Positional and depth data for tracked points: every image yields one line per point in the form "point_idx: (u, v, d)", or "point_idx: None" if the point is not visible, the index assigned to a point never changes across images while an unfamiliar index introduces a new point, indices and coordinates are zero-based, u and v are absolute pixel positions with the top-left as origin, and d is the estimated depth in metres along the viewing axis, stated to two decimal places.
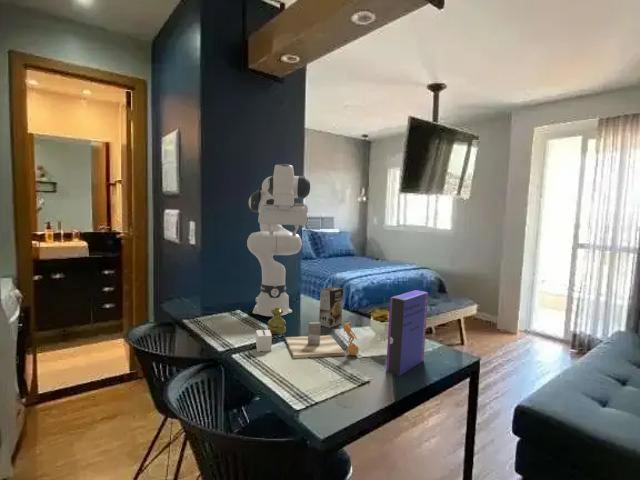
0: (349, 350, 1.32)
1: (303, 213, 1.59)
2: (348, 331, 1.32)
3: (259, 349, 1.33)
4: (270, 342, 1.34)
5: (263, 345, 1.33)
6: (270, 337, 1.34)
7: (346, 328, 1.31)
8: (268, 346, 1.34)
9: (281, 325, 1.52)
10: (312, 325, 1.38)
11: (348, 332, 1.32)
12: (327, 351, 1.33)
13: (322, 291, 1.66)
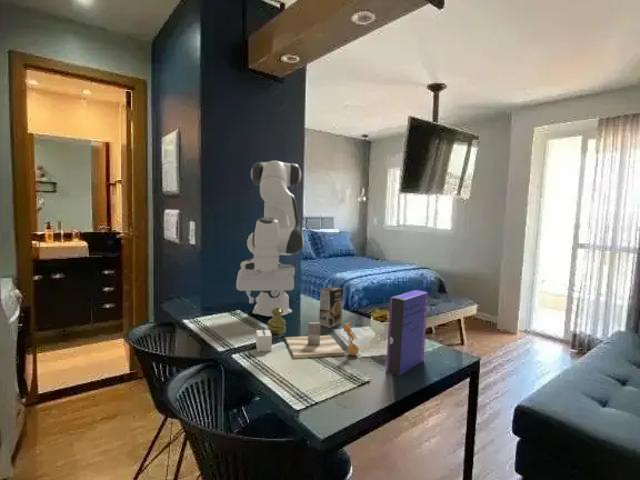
0: (349, 350, 1.32)
1: (289, 277, 1.35)
2: (348, 331, 1.32)
3: (259, 349, 1.33)
4: (270, 342, 1.34)
5: (263, 345, 1.33)
6: (270, 337, 1.34)
7: (346, 328, 1.31)
8: (268, 346, 1.34)
9: (281, 325, 1.52)
10: (312, 325, 1.38)
11: (348, 332, 1.32)
12: (327, 351, 1.33)
13: (322, 291, 1.66)
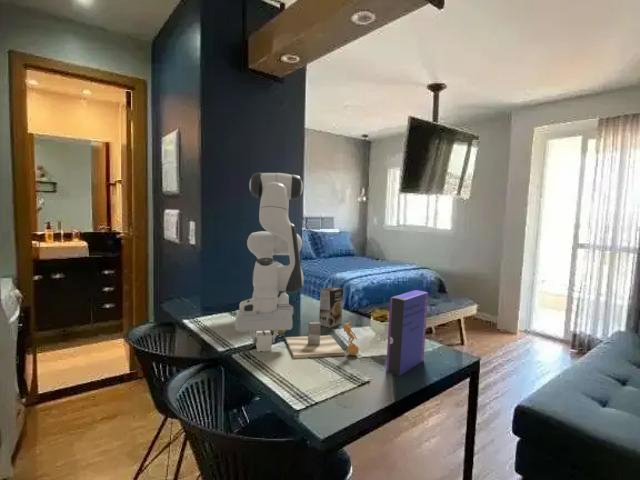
0: (349, 350, 1.32)
1: (287, 317, 1.36)
2: (348, 331, 1.32)
3: (259, 349, 1.33)
4: (270, 342, 1.34)
5: (263, 345, 1.33)
6: (270, 337, 1.34)
7: (346, 328, 1.31)
8: (268, 346, 1.34)
9: None
10: (312, 325, 1.38)
11: (348, 332, 1.32)
12: (327, 351, 1.33)
13: (322, 291, 1.66)
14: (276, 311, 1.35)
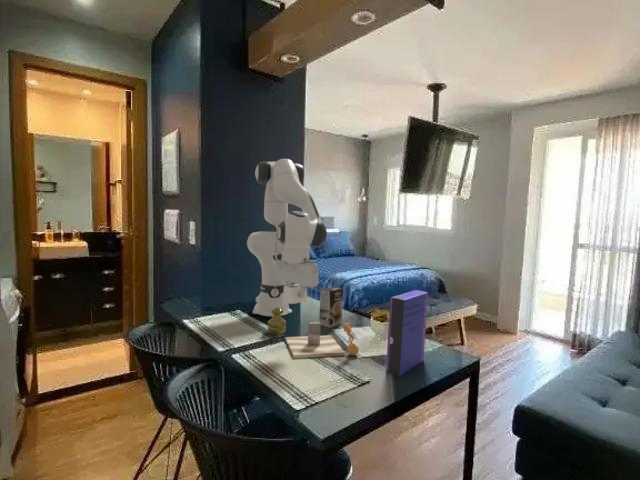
0: (349, 350, 1.32)
1: (307, 273, 1.29)
2: (348, 331, 1.32)
3: (284, 299, 1.36)
4: (291, 294, 1.33)
5: (287, 295, 1.35)
6: (291, 289, 1.33)
7: (346, 328, 1.31)
8: (290, 298, 1.34)
9: (281, 325, 1.52)
10: (312, 325, 1.38)
11: (348, 332, 1.32)
12: (327, 351, 1.33)
13: (322, 291, 1.66)
14: (300, 265, 1.32)
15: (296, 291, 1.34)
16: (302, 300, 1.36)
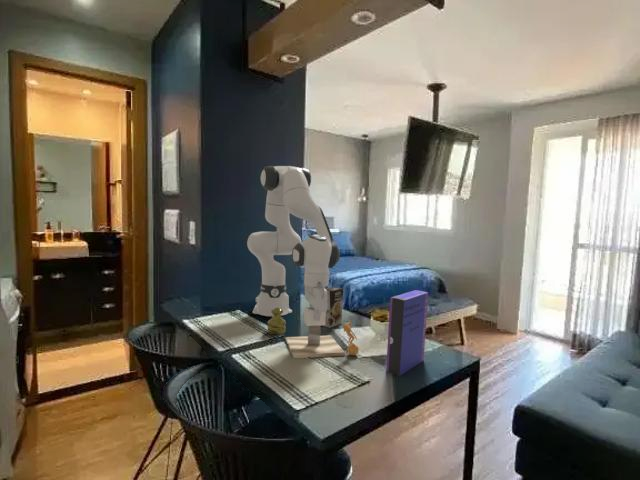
0: (349, 350, 1.32)
1: (316, 297, 1.30)
2: (348, 331, 1.32)
3: (304, 320, 1.40)
4: (306, 316, 1.36)
5: (305, 317, 1.38)
6: (307, 311, 1.36)
7: (346, 328, 1.31)
8: (306, 320, 1.36)
9: (281, 325, 1.52)
10: None
11: (348, 332, 1.32)
12: (327, 351, 1.33)
13: None
14: (314, 288, 1.34)
15: (312, 314, 1.36)
16: (320, 323, 1.37)
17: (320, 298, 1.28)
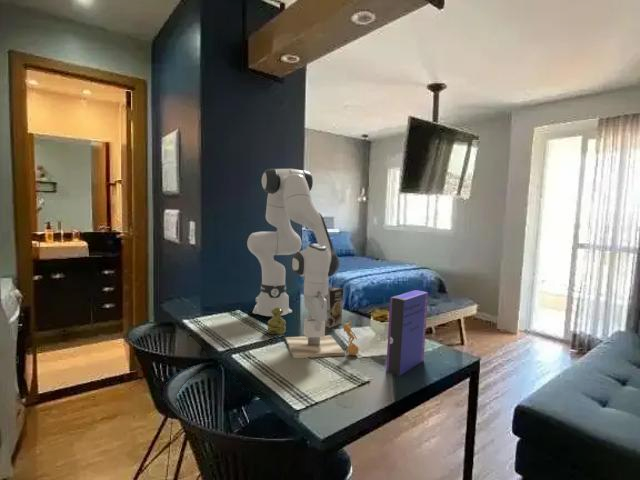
0: (349, 350, 1.32)
1: (315, 307, 1.30)
2: (348, 331, 1.32)
3: None
4: (306, 328, 1.36)
5: (304, 328, 1.39)
6: (306, 323, 1.36)
7: (346, 328, 1.31)
8: (305, 331, 1.37)
9: (281, 325, 1.52)
10: None
11: (348, 332, 1.32)
12: (327, 351, 1.33)
13: None
14: (313, 297, 1.34)
15: (311, 325, 1.36)
16: (319, 335, 1.37)
17: (320, 308, 1.29)
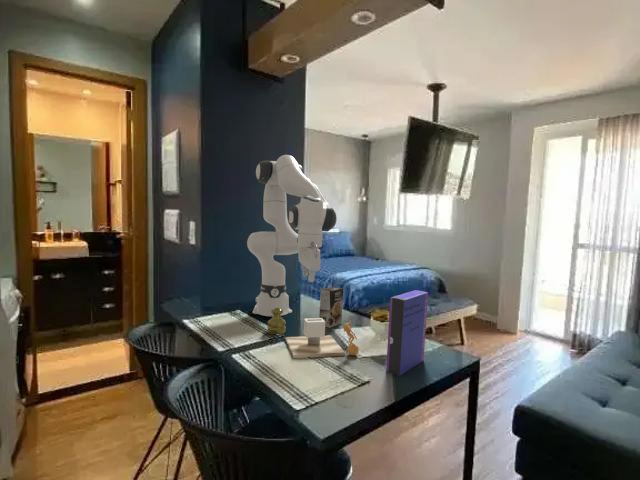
0: (349, 350, 1.32)
1: (309, 256, 1.31)
2: (348, 331, 1.32)
3: None
4: (306, 328, 1.36)
5: (304, 328, 1.39)
6: (306, 323, 1.36)
7: (346, 328, 1.31)
8: (305, 331, 1.37)
9: (281, 325, 1.52)
10: None
11: (348, 332, 1.32)
12: (327, 351, 1.33)
13: (322, 291, 1.66)
14: (307, 248, 1.34)
15: (311, 325, 1.36)
16: (319, 335, 1.37)
17: (313, 257, 1.29)
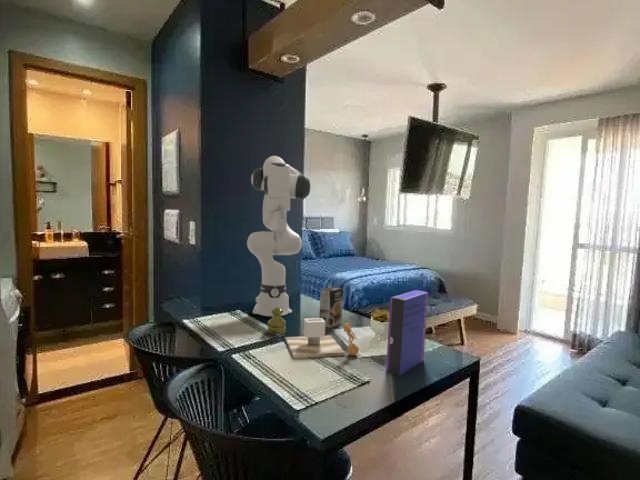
0: (349, 350, 1.32)
1: (276, 218, 1.36)
2: (348, 331, 1.32)
3: None
4: (306, 328, 1.36)
5: (304, 328, 1.39)
6: (306, 323, 1.36)
7: (346, 328, 1.31)
8: (305, 331, 1.37)
9: (281, 325, 1.52)
10: None
11: (348, 332, 1.32)
12: (327, 351, 1.33)
13: (322, 291, 1.66)
14: (275, 211, 1.40)
15: (311, 325, 1.36)
16: (319, 335, 1.37)
17: (279, 218, 1.35)
